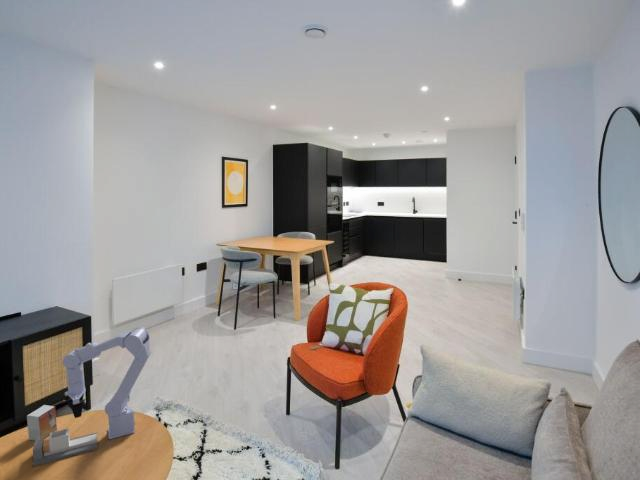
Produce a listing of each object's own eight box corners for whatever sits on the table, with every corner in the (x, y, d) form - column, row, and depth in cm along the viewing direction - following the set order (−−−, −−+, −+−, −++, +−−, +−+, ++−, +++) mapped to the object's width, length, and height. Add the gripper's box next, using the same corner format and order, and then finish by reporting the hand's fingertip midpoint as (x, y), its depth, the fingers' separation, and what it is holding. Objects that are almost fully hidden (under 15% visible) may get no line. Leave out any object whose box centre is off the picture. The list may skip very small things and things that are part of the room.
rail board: (97, 434, 160) (96, 423, 159) (96, 449, 152) (96, 437, 151) (36, 450, 151) (35, 438, 150) (33, 466, 142) (31, 453, 141)
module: (69, 440, 153) (68, 427, 152) (69, 447, 149) (68, 434, 149) (51, 445, 150) (50, 432, 150) (50, 452, 146) (48, 438, 146)
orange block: (51, 444, 150) (50, 438, 150) (50, 450, 147) (49, 444, 146) (44, 446, 149) (44, 440, 149) (43, 452, 146) (42, 446, 145)
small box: (40, 442, 155) (38, 417, 154) (28, 440, 156) (26, 415, 155) (57, 429, 163) (55, 406, 162) (46, 428, 164) (43, 404, 163)
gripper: (65, 374, 162) (68, 405, 164) (62, 391, 149) (65, 424, 151) (85, 371, 165) (87, 401, 167) (84, 386, 153) (86, 419, 155)
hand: (78, 412), depth 159 cm, fingers open, 7 cm apart
